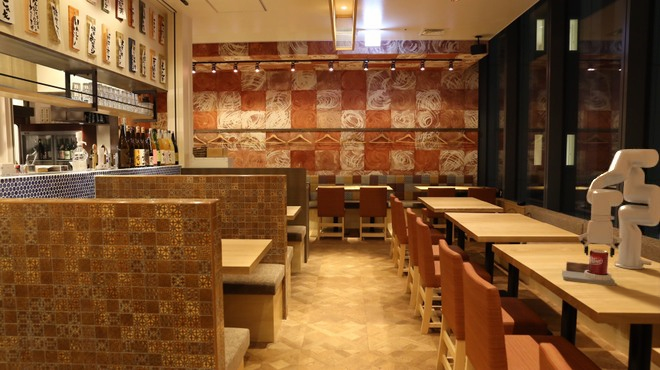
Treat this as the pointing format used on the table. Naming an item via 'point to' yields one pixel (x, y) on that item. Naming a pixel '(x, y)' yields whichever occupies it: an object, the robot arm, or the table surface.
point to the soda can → (598, 262)
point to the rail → (577, 267)
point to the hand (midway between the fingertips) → (598, 255)
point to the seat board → (584, 279)
